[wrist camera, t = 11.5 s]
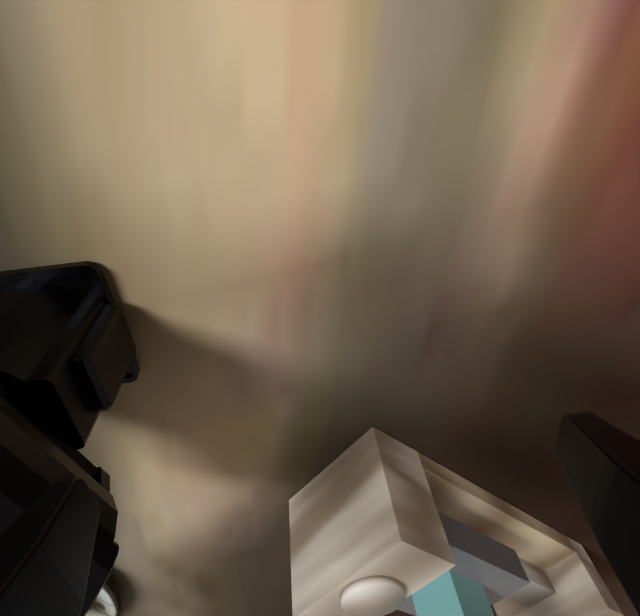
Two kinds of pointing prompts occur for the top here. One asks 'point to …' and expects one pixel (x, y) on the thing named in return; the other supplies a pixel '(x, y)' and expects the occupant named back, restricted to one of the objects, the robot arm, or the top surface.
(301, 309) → the top surface
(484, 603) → the carriage
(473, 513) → the rail track
